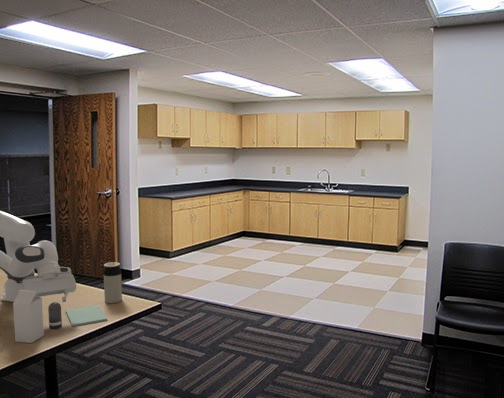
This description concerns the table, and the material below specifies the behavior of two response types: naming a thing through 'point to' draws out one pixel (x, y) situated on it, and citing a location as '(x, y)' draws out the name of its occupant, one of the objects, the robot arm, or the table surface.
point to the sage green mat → (86, 315)
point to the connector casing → (55, 316)
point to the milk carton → (28, 317)
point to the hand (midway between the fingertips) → (52, 303)
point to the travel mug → (112, 282)
